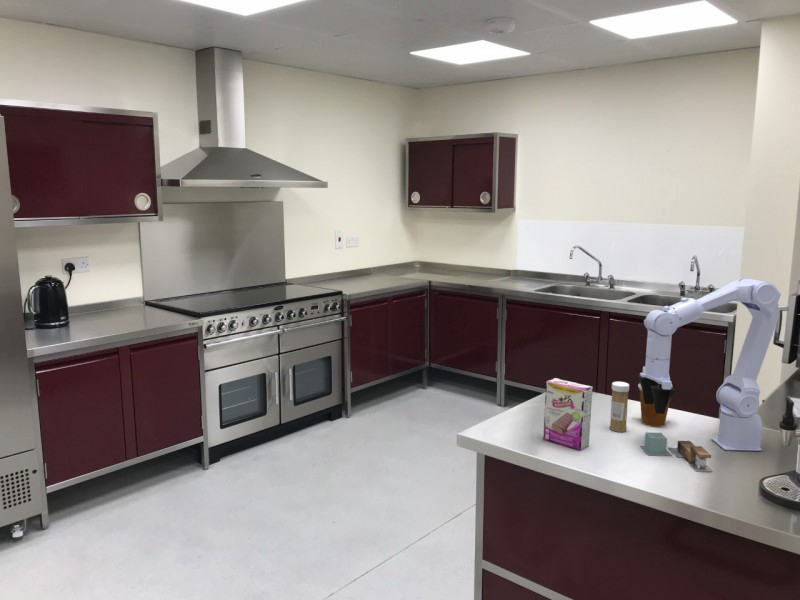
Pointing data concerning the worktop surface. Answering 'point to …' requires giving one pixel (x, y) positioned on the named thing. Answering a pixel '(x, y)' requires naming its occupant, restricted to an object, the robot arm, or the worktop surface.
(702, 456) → the leg
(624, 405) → the sprinkles bottle
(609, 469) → the worktop surface
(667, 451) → the seat pad
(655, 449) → the block
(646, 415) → the disposable coffee cup
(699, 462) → the flanged metal stem
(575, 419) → the candy bar box
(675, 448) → the foot pad
